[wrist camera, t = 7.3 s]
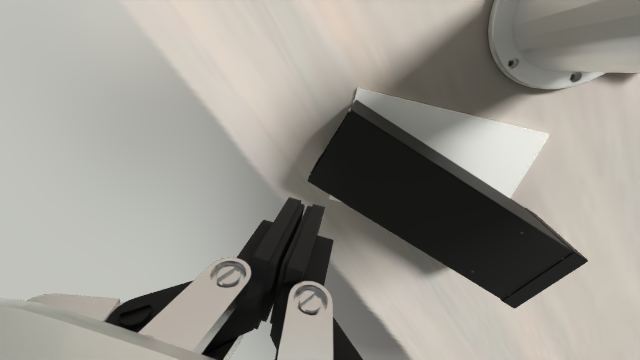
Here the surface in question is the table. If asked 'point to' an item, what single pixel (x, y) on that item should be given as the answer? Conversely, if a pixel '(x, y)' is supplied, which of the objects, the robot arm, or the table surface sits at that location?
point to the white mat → (464, 138)
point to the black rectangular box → (441, 208)
